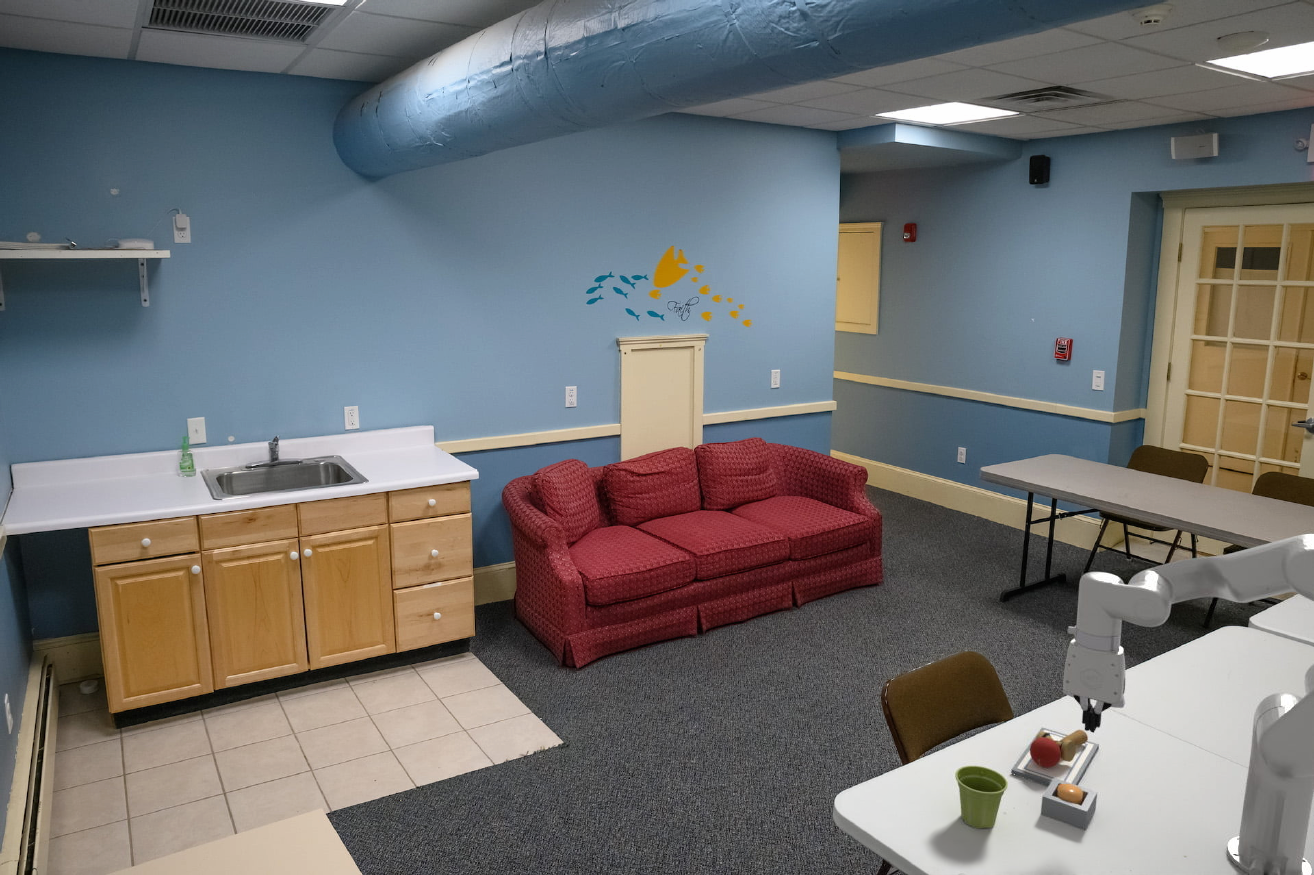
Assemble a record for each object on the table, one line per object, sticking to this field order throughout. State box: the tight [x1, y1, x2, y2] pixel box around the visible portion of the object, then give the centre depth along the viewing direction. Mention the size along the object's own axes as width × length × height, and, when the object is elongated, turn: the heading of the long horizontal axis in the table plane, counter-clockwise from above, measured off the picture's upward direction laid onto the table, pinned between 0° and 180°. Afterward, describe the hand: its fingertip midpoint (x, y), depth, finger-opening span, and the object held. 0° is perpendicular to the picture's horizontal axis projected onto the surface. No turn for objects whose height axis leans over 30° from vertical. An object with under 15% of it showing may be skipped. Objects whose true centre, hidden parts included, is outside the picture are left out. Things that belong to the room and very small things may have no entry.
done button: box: [1057, 784, 1083, 805], centre depth 174 cm, size 4×4×3 cm
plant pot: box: [955, 765, 1009, 829], centre depth 172 cm, size 9×9×9 cm
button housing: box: [1040, 778, 1098, 831], centre depth 175 cm, size 8×8×4 cm
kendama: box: [1030, 729, 1089, 768], centre depth 193 cm, size 8×6×18 cm
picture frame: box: [1010, 727, 1100, 787], centre depth 193 cm, size 22×12×1 cm, turn 142°
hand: (1090, 728), depth 172 cm, fingers closed
